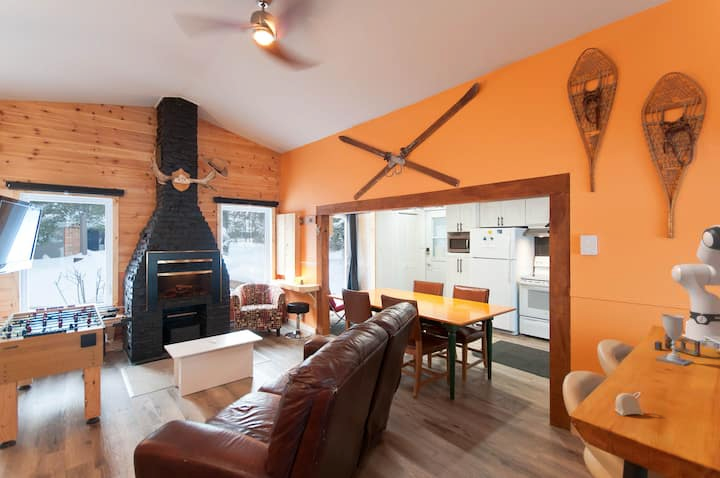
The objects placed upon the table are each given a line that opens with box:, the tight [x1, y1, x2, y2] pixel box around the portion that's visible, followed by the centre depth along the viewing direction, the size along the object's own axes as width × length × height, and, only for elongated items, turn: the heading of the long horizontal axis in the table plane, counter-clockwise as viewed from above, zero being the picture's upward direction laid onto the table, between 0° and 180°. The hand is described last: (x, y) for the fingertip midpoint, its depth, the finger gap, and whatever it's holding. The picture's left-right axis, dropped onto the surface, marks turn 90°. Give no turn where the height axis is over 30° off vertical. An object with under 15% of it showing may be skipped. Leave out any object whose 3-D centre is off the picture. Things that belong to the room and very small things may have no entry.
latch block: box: [654, 340, 663, 351], centre depth 158 cm, size 3×2×4 cm, turn 120°
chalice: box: [661, 314, 685, 361], centre depth 142 cm, size 7×7×18 cm
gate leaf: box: [664, 333, 701, 357], centre depth 153 cm, size 14×2×6 cm, turn 10°
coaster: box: [655, 354, 694, 367], centre depth 142 cm, size 9×9×1 cm
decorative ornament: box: [614, 391, 645, 417], centre depth 97 cm, size 4×8×5 cm, turn 93°
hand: (699, 343), depth 149 cm, fingers closed
